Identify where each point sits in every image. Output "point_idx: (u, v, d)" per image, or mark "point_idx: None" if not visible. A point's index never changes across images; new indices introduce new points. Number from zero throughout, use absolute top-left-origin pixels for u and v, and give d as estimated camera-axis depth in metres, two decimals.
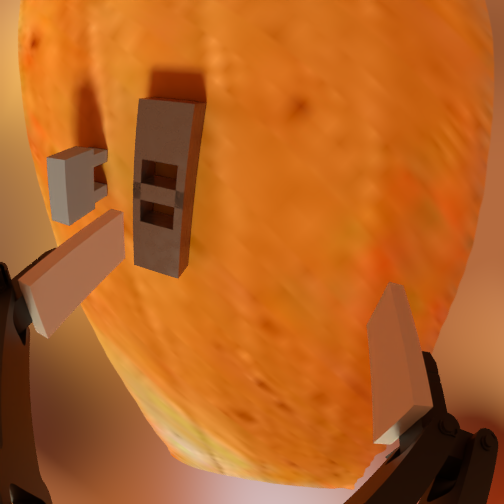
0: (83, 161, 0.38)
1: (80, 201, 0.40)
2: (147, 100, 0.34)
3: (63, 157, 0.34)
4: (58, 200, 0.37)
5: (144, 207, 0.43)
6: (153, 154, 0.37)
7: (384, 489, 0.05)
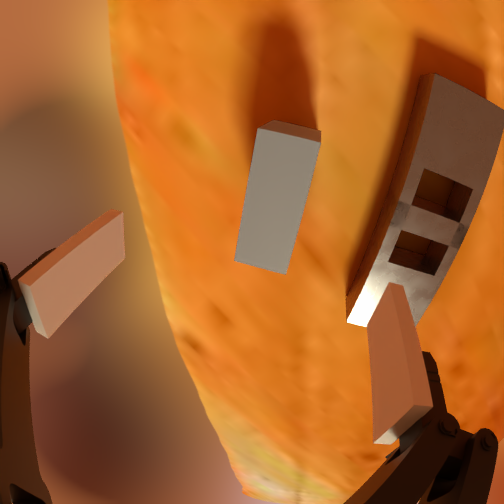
0: None
1: None
2: (448, 81, 0.18)
3: (303, 136, 0.18)
4: (270, 224, 0.21)
5: None
6: (444, 166, 0.21)
7: (384, 489, 0.05)
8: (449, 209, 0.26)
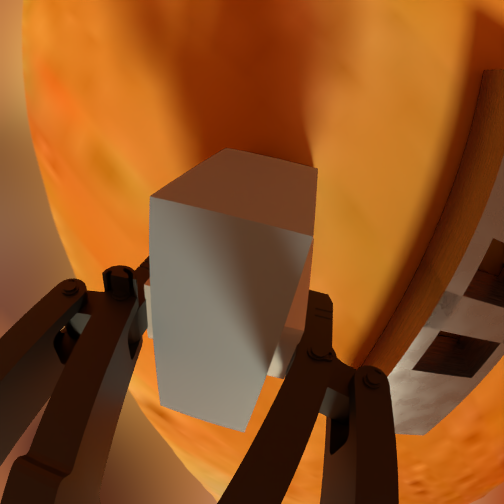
0: None
1: None
2: None
3: (268, 209, 0.08)
4: (207, 377, 0.10)
5: None
6: None
7: (267, 428, 0.06)
8: None
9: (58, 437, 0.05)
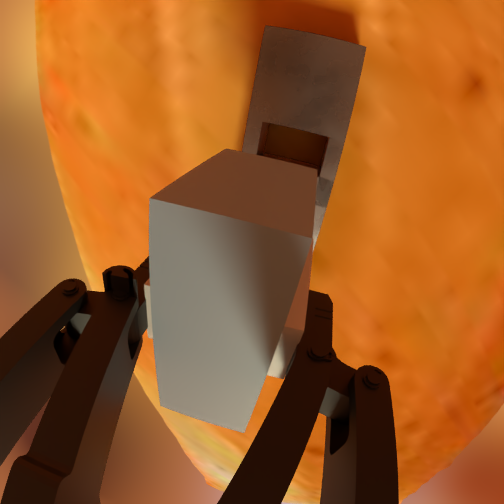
0: None
1: None
2: (281, 29, 0.19)
3: (268, 210, 0.08)
4: (207, 378, 0.10)
5: None
6: (286, 116, 0.22)
7: (267, 428, 0.06)
8: (320, 167, 0.27)
9: (58, 437, 0.05)
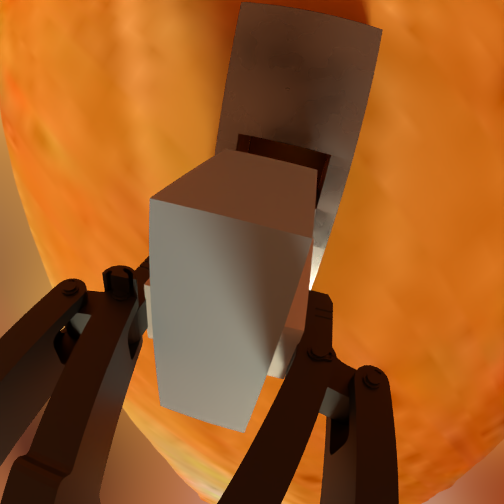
0: None
1: None
2: (263, 6, 0.13)
3: (268, 210, 0.08)
4: (207, 378, 0.10)
5: None
6: (271, 125, 0.16)
7: (267, 428, 0.06)
8: (317, 191, 0.21)
9: (58, 437, 0.05)
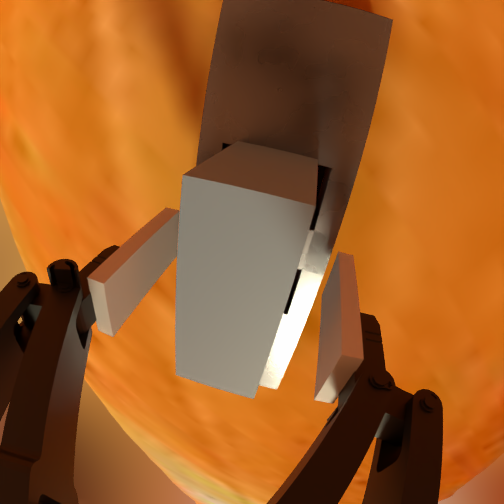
0: None
1: None
2: None
3: (279, 186, 0.09)
4: (223, 340, 0.12)
5: None
6: (260, 133, 0.14)
7: (322, 451, 0.06)
8: (316, 208, 0.18)
9: (24, 426, 0.05)
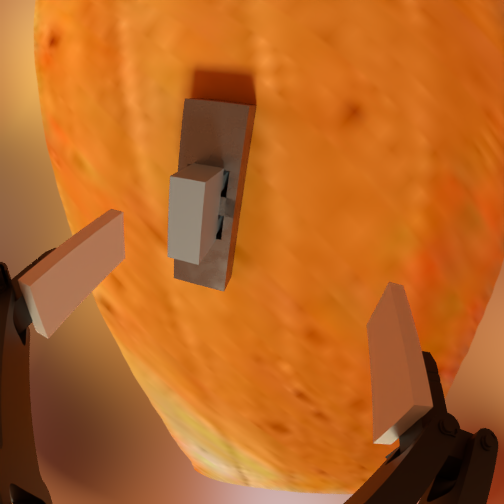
0: (216, 184, 0.34)
1: (209, 233, 0.37)
2: (194, 100, 0.33)
3: (197, 178, 0.31)
4: (184, 233, 0.34)
5: None
6: (201, 159, 0.36)
7: (384, 489, 0.05)
8: None
9: None
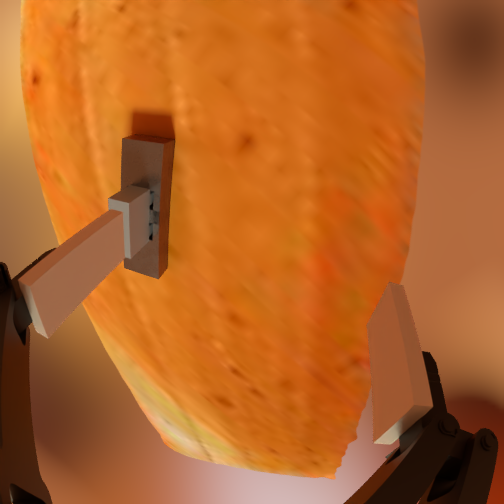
0: (142, 201, 0.46)
1: (139, 236, 0.49)
2: (128, 140, 0.44)
3: (125, 199, 0.43)
4: None
5: None
6: (135, 182, 0.48)
7: (384, 489, 0.05)
8: None
9: None
